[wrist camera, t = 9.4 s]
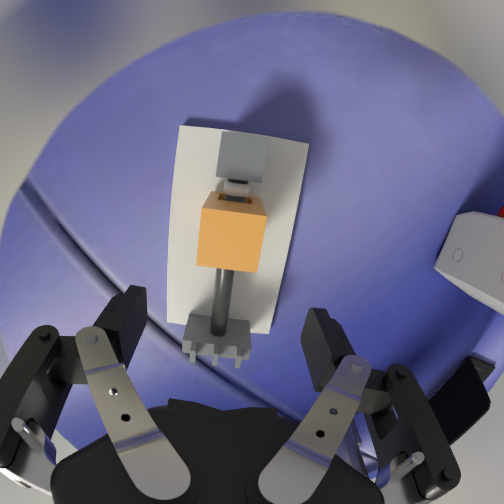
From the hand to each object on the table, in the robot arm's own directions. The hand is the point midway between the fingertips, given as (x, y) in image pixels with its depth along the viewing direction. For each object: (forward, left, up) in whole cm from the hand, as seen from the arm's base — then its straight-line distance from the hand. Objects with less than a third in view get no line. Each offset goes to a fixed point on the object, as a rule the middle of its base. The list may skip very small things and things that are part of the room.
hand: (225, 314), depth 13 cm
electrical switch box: (-39, -3, -20) cm, 44 cm away
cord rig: (0, +3, -20) cm, 20 cm away
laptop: (-59, +41, -20) cm, 74 cm away
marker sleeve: (0, 0, -18) cm, 18 cm away
